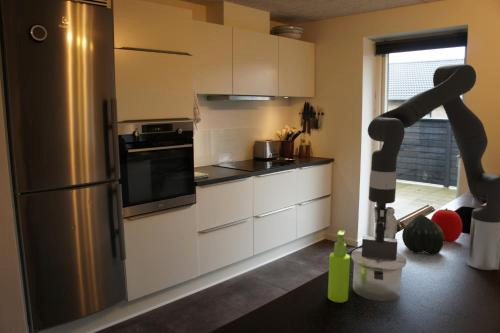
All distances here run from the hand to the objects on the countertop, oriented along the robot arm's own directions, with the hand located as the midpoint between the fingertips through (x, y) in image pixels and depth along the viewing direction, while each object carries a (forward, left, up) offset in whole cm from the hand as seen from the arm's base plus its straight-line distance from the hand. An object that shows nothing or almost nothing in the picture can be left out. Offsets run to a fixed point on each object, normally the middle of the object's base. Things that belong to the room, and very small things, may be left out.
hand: (379, 238), depth 125 cm
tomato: (-29, -58, -17) cm, 67 cm away
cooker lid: (0, 0, -7) cm, 7 cm away
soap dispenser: (+11, +8, -17) cm, 22 cm away
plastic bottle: (-4, -26, -17) cm, 31 cm away
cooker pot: (0, 0, -17) cm, 17 cm away
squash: (-18, -41, -17) cm, 48 cm away
